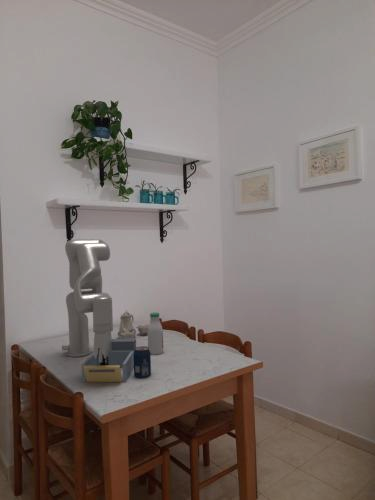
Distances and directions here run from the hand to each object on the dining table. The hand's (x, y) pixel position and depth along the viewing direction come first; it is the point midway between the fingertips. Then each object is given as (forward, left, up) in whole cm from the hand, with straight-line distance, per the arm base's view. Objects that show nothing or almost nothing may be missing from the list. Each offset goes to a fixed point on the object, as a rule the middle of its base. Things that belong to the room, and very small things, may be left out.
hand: (104, 373), depth 140 cm
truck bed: (0, +10, -4) cm, 11 cm away
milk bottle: (+15, +39, -4) cm, 42 cm away
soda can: (+14, +6, -4) cm, 16 cm away
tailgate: (0, 0, -3) cm, 3 cm away
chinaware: (-3, +68, -4) cm, 68 cm away
